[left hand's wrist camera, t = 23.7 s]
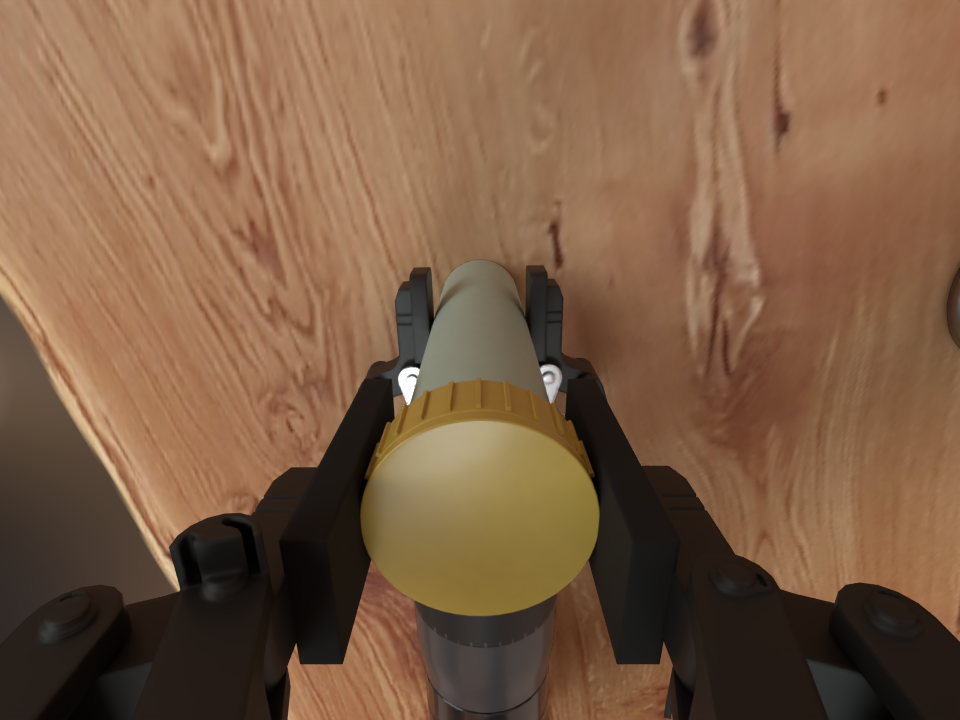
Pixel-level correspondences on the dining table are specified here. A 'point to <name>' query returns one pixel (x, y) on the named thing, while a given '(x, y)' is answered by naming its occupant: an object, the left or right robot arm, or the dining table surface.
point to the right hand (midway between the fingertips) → (477, 271)
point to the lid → (479, 500)
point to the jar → (479, 333)
